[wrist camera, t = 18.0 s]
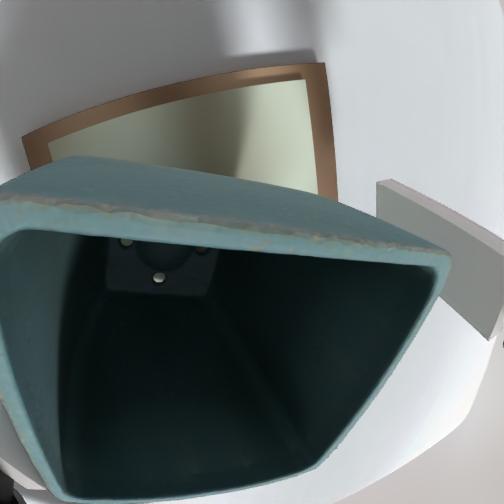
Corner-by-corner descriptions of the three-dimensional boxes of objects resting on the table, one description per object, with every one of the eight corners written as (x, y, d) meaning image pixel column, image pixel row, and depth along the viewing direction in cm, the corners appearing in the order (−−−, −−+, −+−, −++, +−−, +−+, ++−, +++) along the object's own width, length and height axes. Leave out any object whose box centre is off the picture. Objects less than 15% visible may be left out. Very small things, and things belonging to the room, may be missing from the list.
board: (213, 480, 27) (215, 486, 27) (26, 135, 10) (18, 138, 9) (329, 442, 30) (332, 448, 29) (318, 63, 12) (328, 62, 12)
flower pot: (70, 117, 9) (-53, 195, 2) (286, 155, 13) (464, 256, 6) (61, 316, 13) (57, 504, 6) (234, 322, 17) (317, 470, 9)
